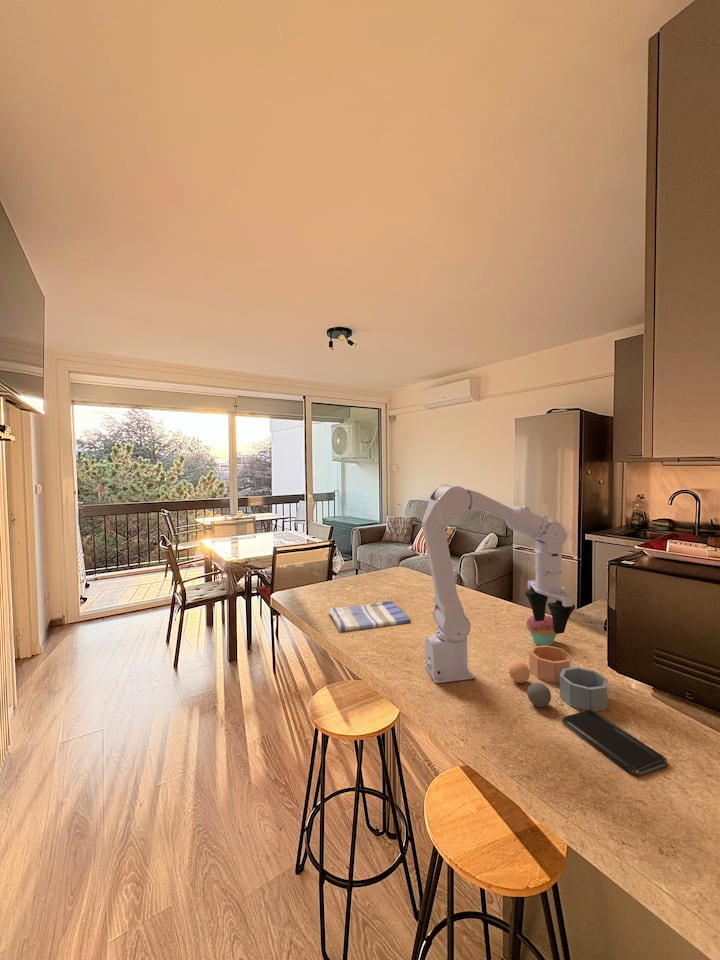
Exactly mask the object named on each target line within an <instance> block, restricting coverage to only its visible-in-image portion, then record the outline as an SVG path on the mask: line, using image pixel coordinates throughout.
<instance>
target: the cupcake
mask: <svg viewBox="0 0 720 960" xmlns="http://www.w3.org/2000/svg"><path fill="white" fill-rule="evenodd" d="M525 625H526V626H525V627H526V630H528V631H529V632H530V635H531V637H532V640H533V643H535V644H536V645H537V646H543V645H548V646H552V645H553V644H554V642H555V639H556V636H557V634H556V633H554V629H553V620H552V616H550V615H546V614H545V618H544V621H535V619H534V615H532V616H530V617H529V618H527V620H526V623H525Z"/></svg>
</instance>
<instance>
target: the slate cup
mask: <svg viewBox="0 0 720 960" xmlns="http://www.w3.org/2000/svg"><path fill="white" fill-rule="evenodd" d="M559 698H560V699H562V700H563V701H564V702H565V703H566V704H567V705H568V706H570V707H572V708H575V709H579V710H582V711H586V710H591V711H594V712H596V713H597V712H601V711H602V712H603V711H607V710H608V704H609V680H608V678H606V677H605V676H604V675H602V674H601V673H599V672H598V671H595V670H591V669H588V668H583V667H579V666H575V667H573V666H572V668H564V669H562V671H561V673H560V682H559Z"/></svg>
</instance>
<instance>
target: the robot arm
mask: <svg viewBox="0 0 720 960" xmlns="http://www.w3.org/2000/svg"><path fill="white" fill-rule="evenodd" d="M530 509H531V507H529V506H527V505H516V506H514V507H509V506H507V505H505V504H503V503H502V502H500V501H497V500H495V499H493V498H492V497H489V496H487V495H485V494H483V493H480V492H478V491H474V490H472V489H471V490H470V489H469V488H468V489H467V488H464V487H463V486H458V485H457V486H456V485H455V486H454V485H450V484H442V485H439V486H438V487H436V488H435V489H434V491H432V493H431V494H430V495H429V497H428V503H427V507H426V509H425V512H424V515H423V518H422V521H421V527H422V528H421V529H422V531H423V538H424V542H425V546H426V547H425V548H426V552H427V558H428V563H429V568H430V573H431V577H432V583H433V588H434V592H435V593H434V594H435V596H434V598H433V599H434V600H433V602H434V608H433V613H432V616H433V617H432V618H433V621H434V622H435V623H436V624H437V626H436V630H435V634H433V635H431V636H428V637H426V638H425V642H424V644H425V645H424V648H425V650H424V652H425V665H424V668H425V669H426V671H427V673H428V674H429V675H430V676H431V678H432V680H433V682H434V683H436V684H440V683H449V682H457V681H465V680H466V681H467V680H473V679H476V675H475V674H473V672H472V671H471V670H470V669H469V666H468V665H469V662H468V659H469V656H468V655H469V654H468V651H469V650H468V636H469V634H470V633H471V628H472V627H471V622H470V620H469V618H468V617H467V615H466V614H465V611H464V607H463V604H462V602H461V600H460V597H459V595H458V590H457V584H456V580H455V579H456V578H455V575H454V574H455V573H454V568H453V564H452V560H451V558H452V557H451V554H450V547H449V543H448V537H447V531H446V529H447V527H449V525H450V524H451V522H452V521H453V520H455V519H457V518H459V517H460V516H461V515H462V514H464V513H465V512H466V511H471V512H472V511H475V510H479V511H482V512H484V513H487V514H490V515H492V516H495V517H496V518H499V519H502V520H504V521H505V524H506V526H507V528H509V529H510V530H512V531H515V532H518V533H520V534H521V535H524V536H527V537H529V538H530V539H533V541H534V542H535V544H534V545H535V550H534V553H535V554H534V555H535V579H532V580H527V588H528V589H529V590H526V591H524V595H525V597H527V599H528V602H529V605H530V607H531V611H532V616H534V619H535V621H544V618H545V615H546V606H548V609H549V611H550V614H551V618H552V620H553V629H554V633H556V635H559V634H564V633H565V630H566V628H567V624H568V620H569V619H570V616H571V615H572V613H573V611H574V610H575V609H576V605H575V604H574V597H572V596H570V595H569V594H568V593H567V592H566V588H565V587H564V586H563V555H562V554H563V549H564V548H563V546H564V544H565V543H566V541H567V538H568V533H567V532H566V529H565V527H564V526H563V524H561V523H560V522H559V521H555V520H554V521H553V520H549V519H548V516H547V515H545V514H538V513H536V512H534V511H531V510H530ZM549 598H550V599H552V600H554V601H555V602H548V599H549Z"/></svg>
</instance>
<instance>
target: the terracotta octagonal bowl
mask: <svg viewBox="0 0 720 960" xmlns="http://www.w3.org/2000/svg"><path fill="white" fill-rule="evenodd" d="M528 654H529V671H530V674H532V675H534V676H535V678H537V679H539V680H542V681H545V682H551V683H554V684H558V683H559V684H560V673H561V671H562V669H564V668H573V666H572V664H573V663H572V653H571V654H570V653H569V652H568V651H566V650H564V649H563V648H560V647H555V646H552V645H551V646H548V645H543V646H541V645H536V646H532V648H530V650H529V652H528Z"/></svg>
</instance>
